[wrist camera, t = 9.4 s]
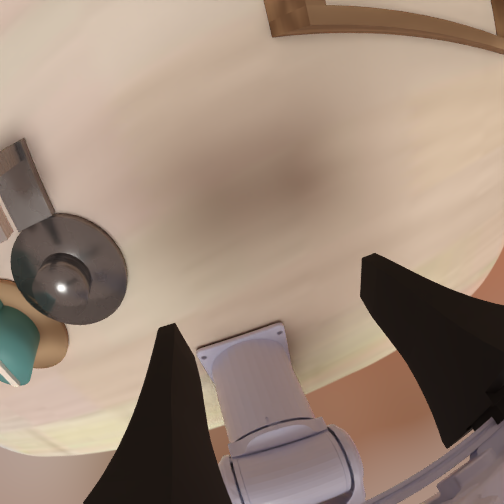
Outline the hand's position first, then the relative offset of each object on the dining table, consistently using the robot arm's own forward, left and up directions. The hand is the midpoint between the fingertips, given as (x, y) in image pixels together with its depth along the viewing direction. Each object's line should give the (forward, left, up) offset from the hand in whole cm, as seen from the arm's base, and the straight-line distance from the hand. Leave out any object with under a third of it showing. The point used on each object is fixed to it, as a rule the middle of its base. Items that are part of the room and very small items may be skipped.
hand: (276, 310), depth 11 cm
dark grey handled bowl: (+2, +12, -10) cm, 16 cm away
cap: (-1, +20, -9) cm, 22 cm away
